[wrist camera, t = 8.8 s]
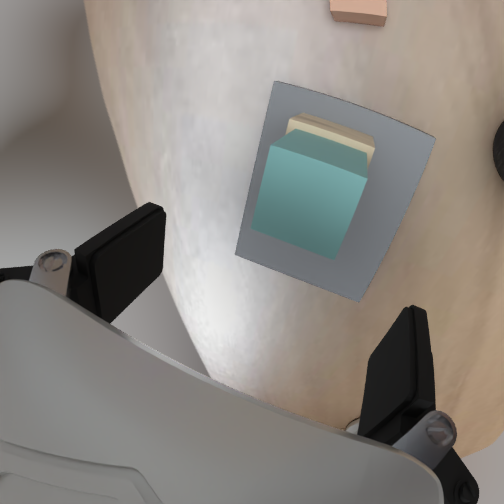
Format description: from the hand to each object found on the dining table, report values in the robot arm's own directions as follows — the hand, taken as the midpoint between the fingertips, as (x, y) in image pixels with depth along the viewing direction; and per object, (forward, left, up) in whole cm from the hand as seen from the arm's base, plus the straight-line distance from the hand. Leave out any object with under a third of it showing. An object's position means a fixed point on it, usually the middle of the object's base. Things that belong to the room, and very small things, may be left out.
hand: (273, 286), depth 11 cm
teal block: (+1, 0, -12) cm, 12 cm away
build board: (-3, -1, -18) cm, 19 cm away
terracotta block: (+17, +2, -16) cm, 23 cm away
